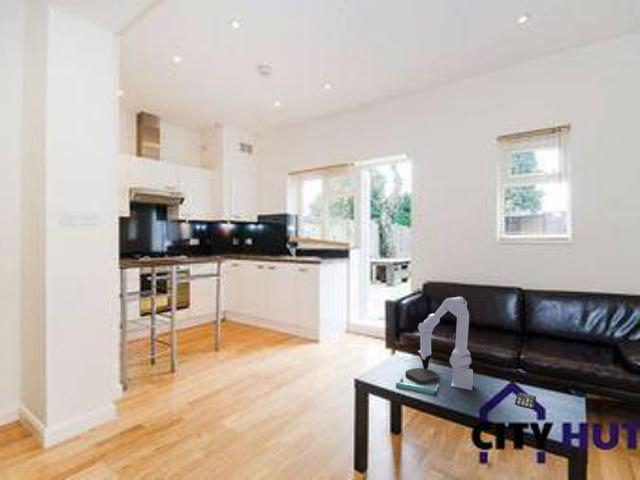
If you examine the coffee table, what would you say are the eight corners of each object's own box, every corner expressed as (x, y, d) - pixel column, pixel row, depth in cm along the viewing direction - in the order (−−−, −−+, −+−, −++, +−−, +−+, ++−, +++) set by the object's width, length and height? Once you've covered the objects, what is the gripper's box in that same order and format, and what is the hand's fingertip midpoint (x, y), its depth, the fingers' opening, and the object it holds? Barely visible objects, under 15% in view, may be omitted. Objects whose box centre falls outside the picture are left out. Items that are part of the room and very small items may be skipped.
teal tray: (438, 387, 172) (438, 382, 172) (435, 395, 163) (435, 390, 163) (400, 379, 180) (400, 375, 180) (395, 387, 171) (395, 382, 171)
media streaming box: (402, 375, 187) (402, 370, 187) (423, 371, 193) (423, 365, 193) (420, 386, 173) (420, 380, 173) (442, 381, 180) (442, 375, 180)
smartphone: (536, 396, 162) (534, 408, 149) (536, 397, 162) (534, 410, 149) (517, 391, 166) (514, 404, 154) (517, 393, 166) (514, 405, 154)
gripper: (420, 339, 201) (420, 362, 201) (415, 346, 188) (415, 371, 188) (433, 341, 197) (433, 364, 198) (429, 348, 184) (429, 373, 185)
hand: (425, 368), depth 192 cm, fingers closed
